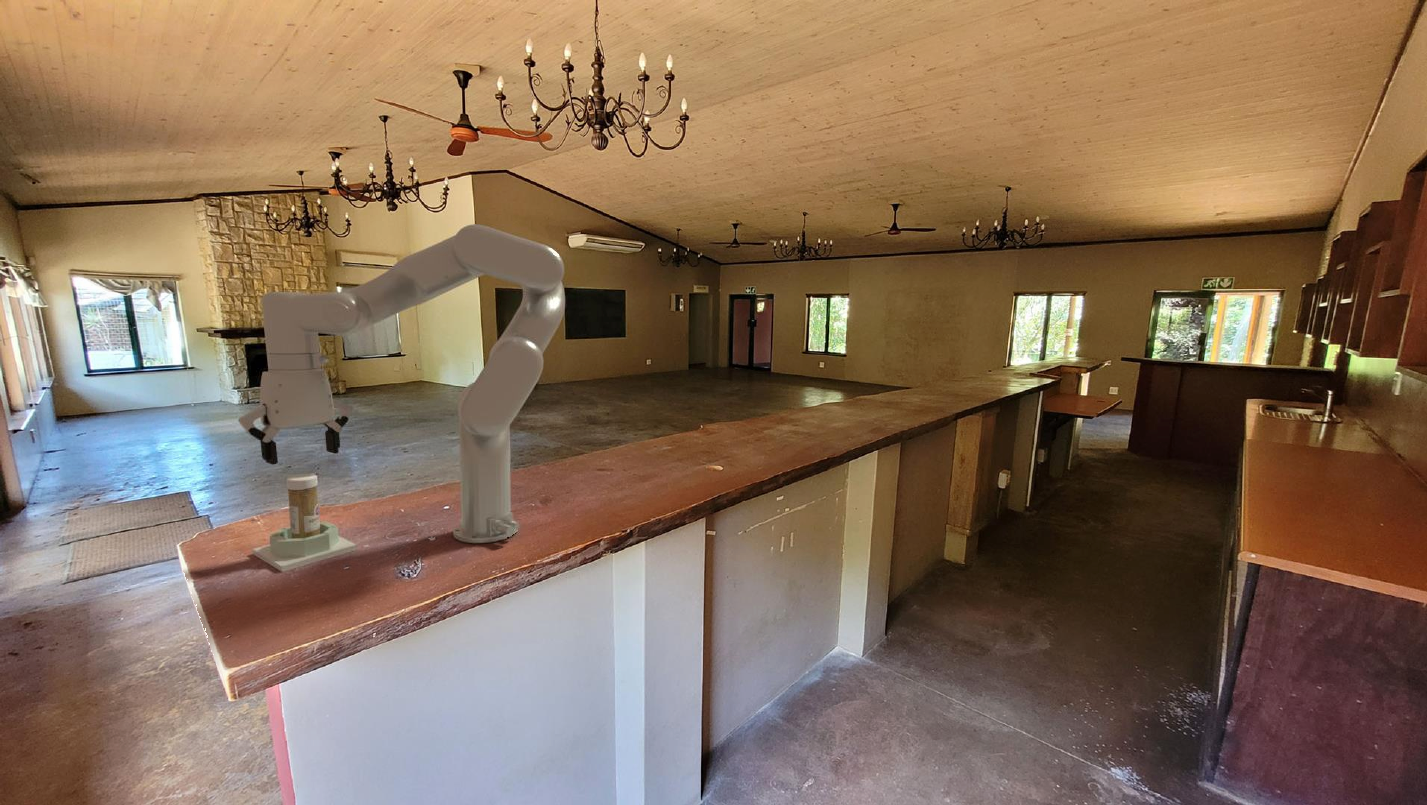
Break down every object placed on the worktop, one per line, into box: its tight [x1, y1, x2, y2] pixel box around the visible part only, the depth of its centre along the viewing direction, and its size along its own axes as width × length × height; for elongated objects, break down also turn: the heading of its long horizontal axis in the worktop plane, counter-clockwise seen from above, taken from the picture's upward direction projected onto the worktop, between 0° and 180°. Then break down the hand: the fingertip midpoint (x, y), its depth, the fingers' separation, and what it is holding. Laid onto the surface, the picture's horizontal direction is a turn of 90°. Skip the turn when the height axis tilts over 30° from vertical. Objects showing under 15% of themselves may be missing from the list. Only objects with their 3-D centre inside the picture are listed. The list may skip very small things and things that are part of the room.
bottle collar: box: [252, 521, 358, 573], centre depth 104 cm, size 12×12×4 cm
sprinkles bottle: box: [285, 473, 320, 539], centre depth 103 cm, size 5×5×14 cm
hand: (303, 457), depth 102 cm, fingers open, 9 cm apart
